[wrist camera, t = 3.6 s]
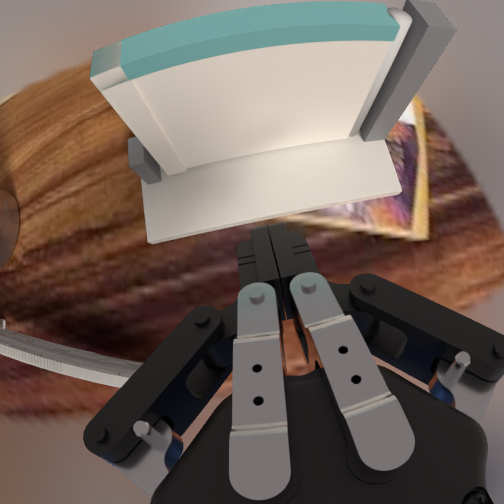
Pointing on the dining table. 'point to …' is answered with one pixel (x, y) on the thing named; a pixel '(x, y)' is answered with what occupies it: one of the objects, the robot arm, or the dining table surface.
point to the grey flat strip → (66, 359)
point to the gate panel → (250, 78)
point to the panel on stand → (295, 157)
